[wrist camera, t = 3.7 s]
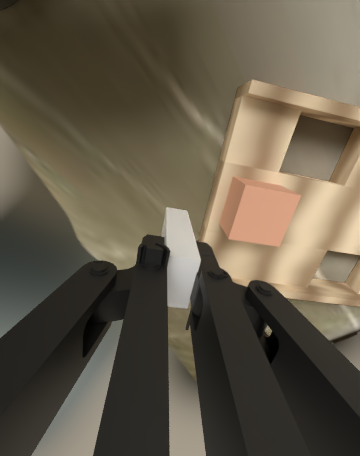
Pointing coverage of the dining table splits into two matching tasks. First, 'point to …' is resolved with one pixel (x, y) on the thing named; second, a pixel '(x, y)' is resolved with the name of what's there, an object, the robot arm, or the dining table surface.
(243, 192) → the block
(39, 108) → the dining table surface
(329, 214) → the box
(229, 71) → the dining table surface
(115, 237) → the dining table surface
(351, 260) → the dining table surface
